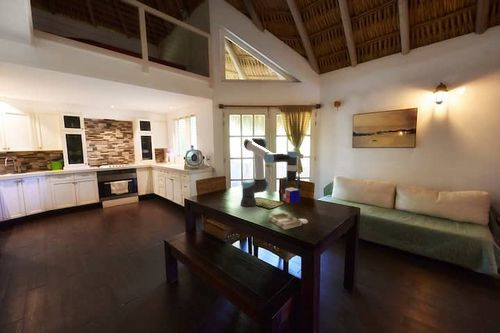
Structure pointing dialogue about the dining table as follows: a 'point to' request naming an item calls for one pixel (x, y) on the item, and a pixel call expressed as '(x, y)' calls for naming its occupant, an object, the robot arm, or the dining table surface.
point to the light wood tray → (285, 220)
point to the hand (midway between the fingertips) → (291, 197)
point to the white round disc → (304, 221)
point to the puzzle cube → (292, 195)
